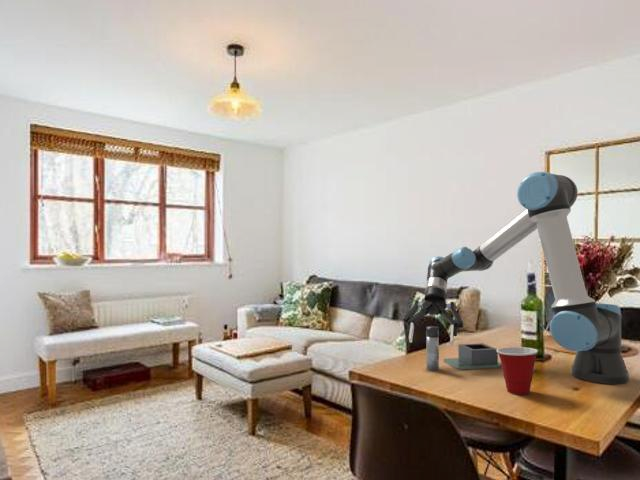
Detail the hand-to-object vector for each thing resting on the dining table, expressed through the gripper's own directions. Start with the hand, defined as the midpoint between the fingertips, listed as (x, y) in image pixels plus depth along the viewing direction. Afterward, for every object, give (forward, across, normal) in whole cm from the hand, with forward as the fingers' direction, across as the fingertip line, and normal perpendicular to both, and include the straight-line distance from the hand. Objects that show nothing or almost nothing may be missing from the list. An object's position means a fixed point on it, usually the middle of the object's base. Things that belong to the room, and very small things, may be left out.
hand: (430, 342), depth 153 cm
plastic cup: (+18, -26, +5) cm, 32 cm away
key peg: (+7, -1, -5) cm, 9 cm away
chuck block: (-1, -13, -13) cm, 18 cm away
